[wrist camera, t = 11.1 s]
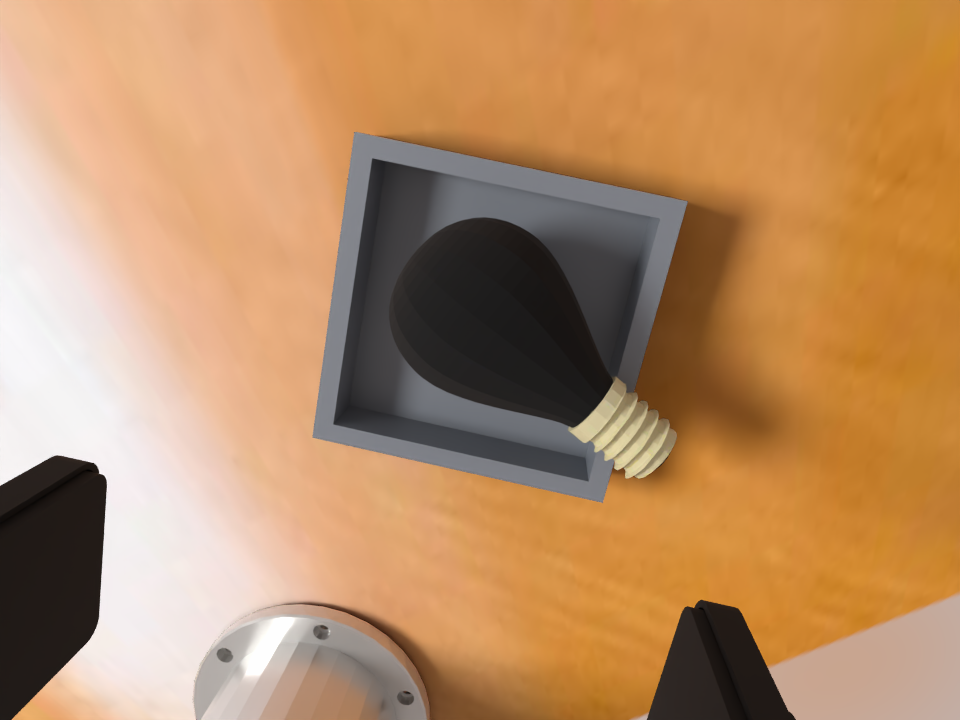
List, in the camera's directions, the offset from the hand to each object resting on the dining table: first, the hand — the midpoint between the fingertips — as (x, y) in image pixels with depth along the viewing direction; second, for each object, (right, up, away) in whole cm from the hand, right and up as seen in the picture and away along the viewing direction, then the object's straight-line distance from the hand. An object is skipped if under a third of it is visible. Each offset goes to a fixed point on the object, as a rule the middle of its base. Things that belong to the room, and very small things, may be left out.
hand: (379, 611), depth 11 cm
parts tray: (+2, +6, +19) cm, 20 cm away
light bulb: (+4, +4, +17) cm, 18 cm away
